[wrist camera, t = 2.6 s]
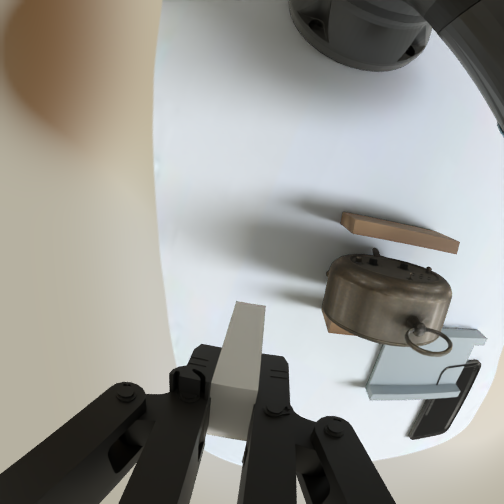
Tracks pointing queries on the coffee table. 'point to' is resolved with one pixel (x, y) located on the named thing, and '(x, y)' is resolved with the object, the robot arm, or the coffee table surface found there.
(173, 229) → the coffee table surface
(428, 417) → the phone
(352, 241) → the coffee table surface
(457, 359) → the cradle
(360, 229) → the channel
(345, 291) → the alarm clock
